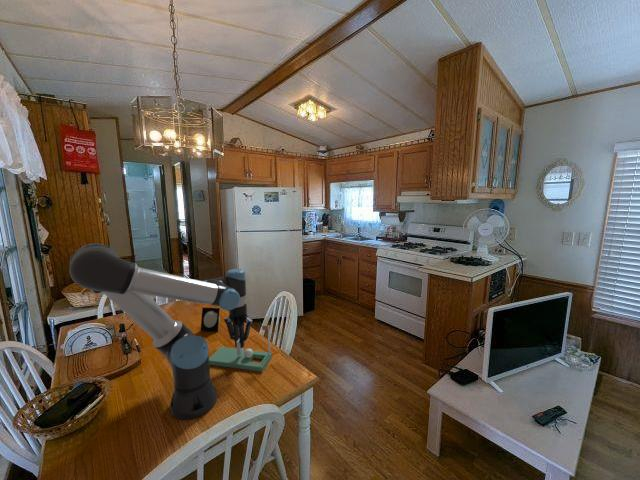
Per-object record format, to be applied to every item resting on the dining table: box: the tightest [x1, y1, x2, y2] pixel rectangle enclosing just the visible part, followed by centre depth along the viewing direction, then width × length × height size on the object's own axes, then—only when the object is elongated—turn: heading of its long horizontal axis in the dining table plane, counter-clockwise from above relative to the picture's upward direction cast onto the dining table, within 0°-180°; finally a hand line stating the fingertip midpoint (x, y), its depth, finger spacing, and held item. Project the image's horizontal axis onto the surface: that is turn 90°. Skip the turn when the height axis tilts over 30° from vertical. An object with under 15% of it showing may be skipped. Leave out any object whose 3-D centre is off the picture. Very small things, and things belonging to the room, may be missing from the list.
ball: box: [244, 348, 254, 358], centre depth 122 cm, size 4×4×4 cm
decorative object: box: [200, 307, 221, 333], centre depth 153 cm, size 13×10×10 cm
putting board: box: [209, 325, 273, 373], centre depth 122 cm, size 11×26×16 cm, turn 79°
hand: (240, 353), depth 123 cm, fingers closed
